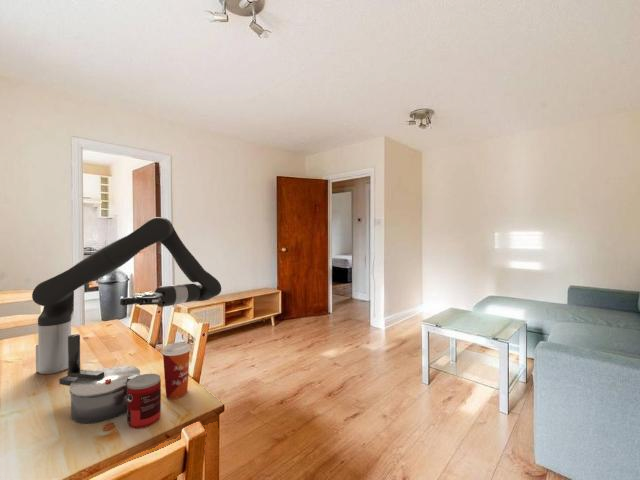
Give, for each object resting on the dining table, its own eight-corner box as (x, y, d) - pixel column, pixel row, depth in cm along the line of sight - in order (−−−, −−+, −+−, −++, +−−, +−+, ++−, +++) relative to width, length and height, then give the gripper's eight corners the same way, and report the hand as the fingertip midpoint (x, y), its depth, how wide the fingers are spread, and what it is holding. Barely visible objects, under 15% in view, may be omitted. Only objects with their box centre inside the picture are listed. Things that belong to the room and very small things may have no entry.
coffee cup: (179, 402, 91) (179, 352, 91) (155, 399, 93) (155, 349, 92) (196, 388, 99) (196, 342, 99) (174, 385, 101) (174, 340, 101)
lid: (159, 371, 95) (159, 331, 94) (115, 400, 78) (114, 351, 78) (95, 366, 99) (95, 327, 98) (40, 392, 82) (39, 345, 82)
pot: (161, 397, 93) (161, 375, 93) (114, 430, 78) (114, 403, 78) (90, 386, 100) (90, 365, 100) (34, 414, 85) (33, 389, 84)
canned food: (136, 412, 86) (135, 373, 85) (165, 411, 86) (165, 372, 86) (120, 430, 78) (120, 387, 78) (153, 428, 79) (153, 386, 78)
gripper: (181, 307, 111) (130, 317, 97) (161, 302, 118) (111, 310, 104) (182, 287, 111) (131, 293, 97) (162, 283, 118) (112, 288, 104)
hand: (121, 302), depth 100 cm, fingers closed
